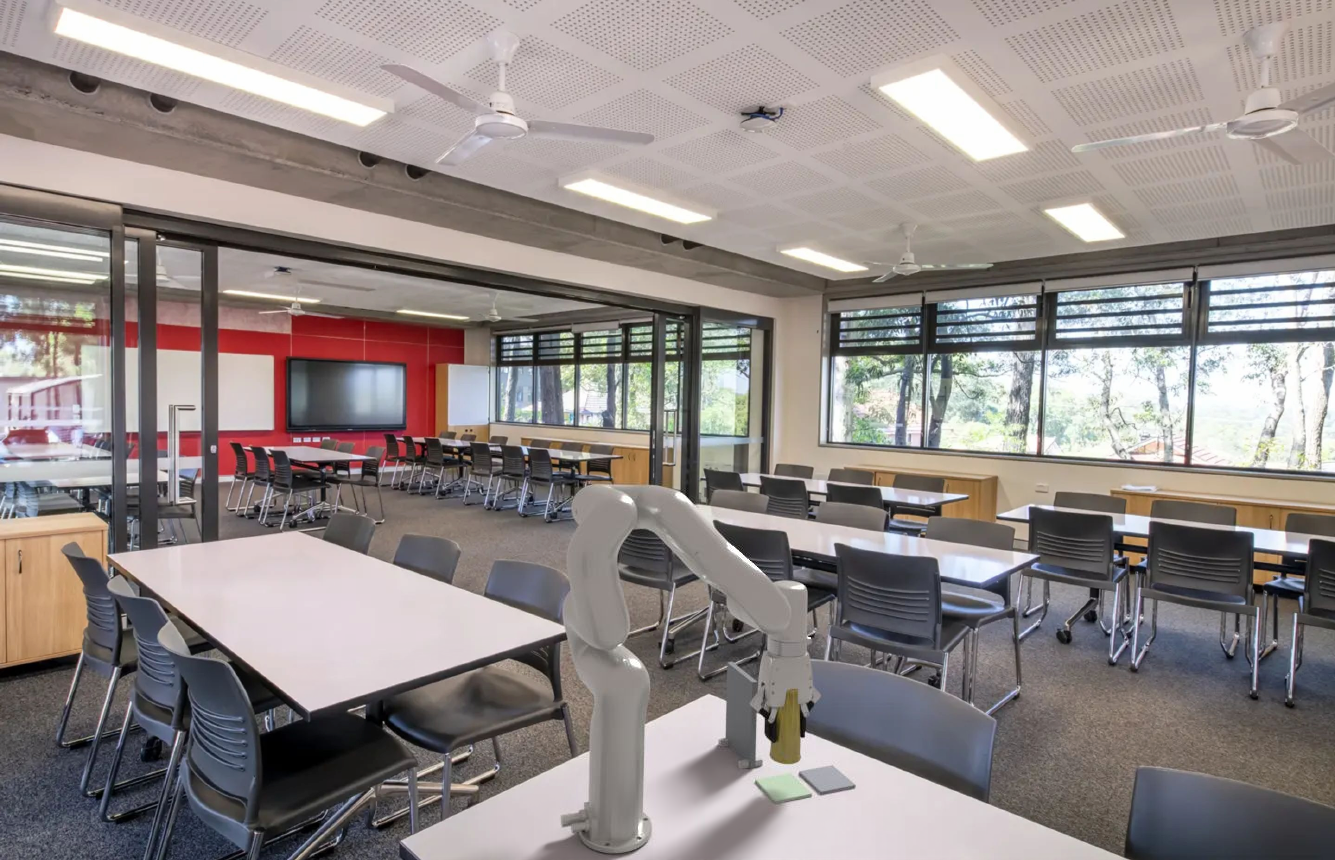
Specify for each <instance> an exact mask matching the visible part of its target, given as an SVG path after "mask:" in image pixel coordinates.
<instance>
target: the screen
mask: <svg viewBox="0 0 1335 860" xmlns="http://www.w3.org/2000/svg"><path fill="white" fill-rule="evenodd" d="M726 665H727V667H726V668H727V669H726V701H725V702H726V703H725V705H726V706H725V708H726V709H725V737H722V738H718V741H717V742H718V743H717V744H718V746H719V747H727V746H729V748H731V750H732V751H733V752H734V753H735V754H736V755H737V756H738V758H740V759H741V760H739V759H738V767H739V769H740V770H743V769H748V768H749V769H755V768H756V767H760V766H761V767H762V766H763V765H764V764H763V761H764V760H763V758H762V757H761V756H757V757H756V754H757V753H756V751H757V717H758V711H756V710H755V709H754V708H753V707H752V706H751V705H750V702H751V700H752V699H753V698H754V696H755V695H756V694H757V692H758V681H757V680H756V679H755V678H753V677H752V676H751V675H750V674H748V673H747V672H746V671H745V670H743V669H742V668H741V667H740V666H738V665H737V664H736V663H735V662H734V661H728V662H727V663H726Z"/></svg>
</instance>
